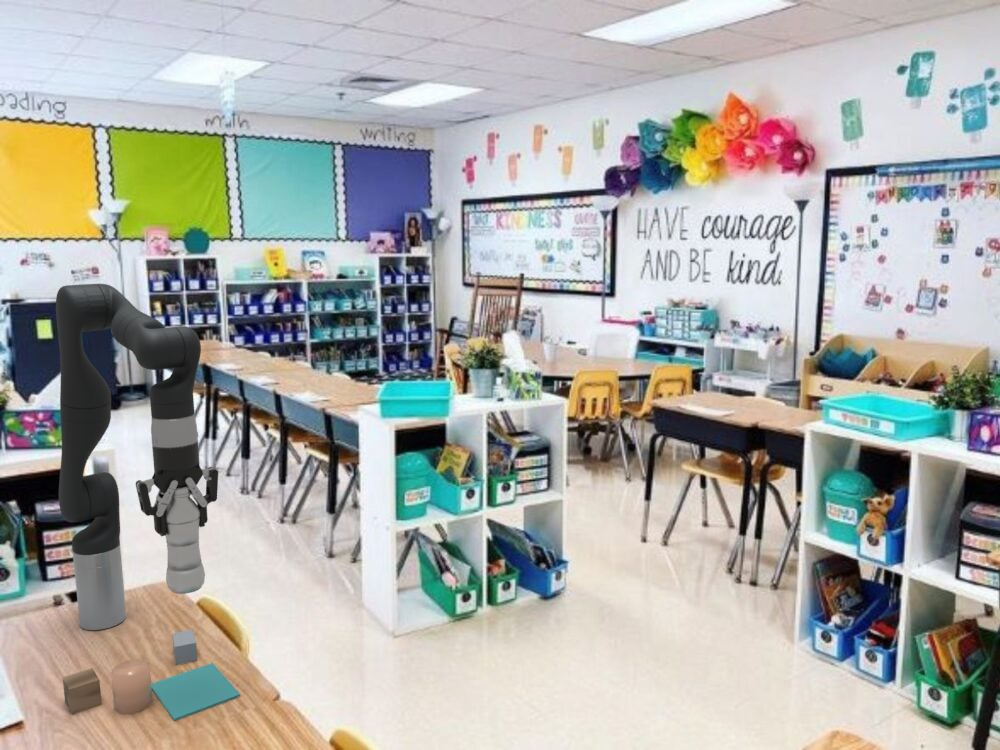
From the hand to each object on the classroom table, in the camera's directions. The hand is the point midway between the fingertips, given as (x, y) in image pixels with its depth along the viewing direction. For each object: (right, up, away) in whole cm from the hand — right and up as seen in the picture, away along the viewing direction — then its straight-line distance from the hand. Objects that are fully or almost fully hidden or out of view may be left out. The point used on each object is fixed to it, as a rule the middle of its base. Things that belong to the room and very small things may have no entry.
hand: (181, 529), depth 145 cm
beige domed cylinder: (-10, -32, +2) cm, 34 cm away
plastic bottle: (0, -12, +2) cm, 12 cm away
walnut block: (-19, -32, +2) cm, 37 cm away
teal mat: (0, -31, +6) cm, 32 cm away
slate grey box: (-7, -29, +18) cm, 35 cm away
